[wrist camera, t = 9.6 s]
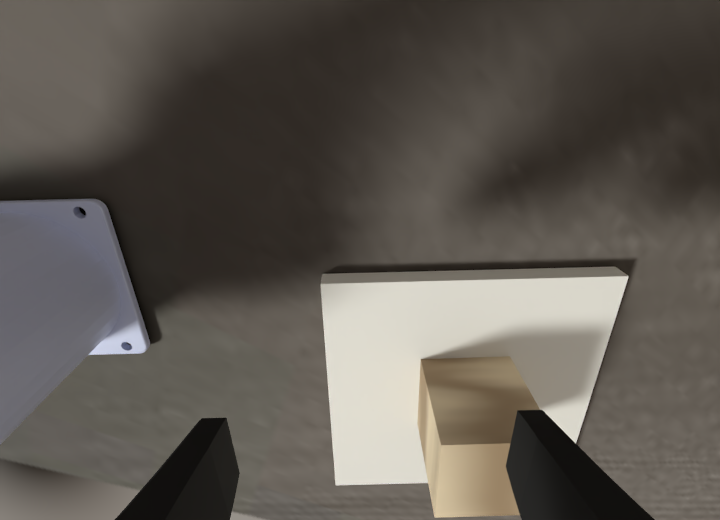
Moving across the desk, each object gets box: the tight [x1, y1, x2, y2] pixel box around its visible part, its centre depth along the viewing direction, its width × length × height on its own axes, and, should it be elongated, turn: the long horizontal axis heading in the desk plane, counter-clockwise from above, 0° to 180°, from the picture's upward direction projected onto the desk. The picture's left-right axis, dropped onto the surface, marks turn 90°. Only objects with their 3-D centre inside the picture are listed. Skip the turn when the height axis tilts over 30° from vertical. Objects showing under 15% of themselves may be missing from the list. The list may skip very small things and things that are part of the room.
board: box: [321, 267, 629, 485], centre depth 21 cm, size 14×14×1 cm
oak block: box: [417, 356, 540, 518], centre depth 18 cm, size 4×4×5 cm
